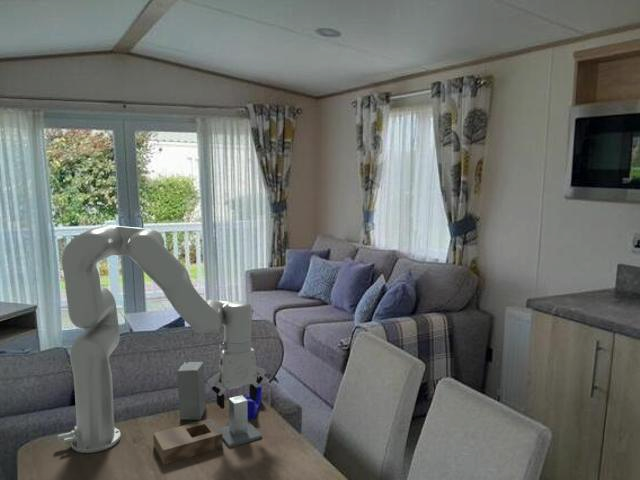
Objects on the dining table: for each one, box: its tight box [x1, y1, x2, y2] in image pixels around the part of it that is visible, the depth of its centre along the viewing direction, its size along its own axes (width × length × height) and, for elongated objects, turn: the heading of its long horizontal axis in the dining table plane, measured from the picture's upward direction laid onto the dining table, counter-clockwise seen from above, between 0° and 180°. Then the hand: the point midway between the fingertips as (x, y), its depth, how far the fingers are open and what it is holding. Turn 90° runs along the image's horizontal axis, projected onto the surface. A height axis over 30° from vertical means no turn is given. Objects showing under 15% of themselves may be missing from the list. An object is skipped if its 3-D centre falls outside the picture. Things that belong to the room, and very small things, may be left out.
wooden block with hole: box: [153, 418, 223, 465], centre depth 137 cm, size 16×10×4 cm, turn 122°
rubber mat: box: [217, 420, 263, 448], centre depth 144 cm, size 10×10×1 cm
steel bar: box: [228, 394, 249, 437], centre depth 143 cm, size 4×4×10 cm
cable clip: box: [245, 384, 263, 420], centre depth 158 cm, size 12×4×6 cm, turn 176°
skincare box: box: [176, 361, 207, 421], centre depth 155 cm, size 8×7×16 cm
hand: (237, 403), depth 142 cm, fingers open, 9 cm apart
